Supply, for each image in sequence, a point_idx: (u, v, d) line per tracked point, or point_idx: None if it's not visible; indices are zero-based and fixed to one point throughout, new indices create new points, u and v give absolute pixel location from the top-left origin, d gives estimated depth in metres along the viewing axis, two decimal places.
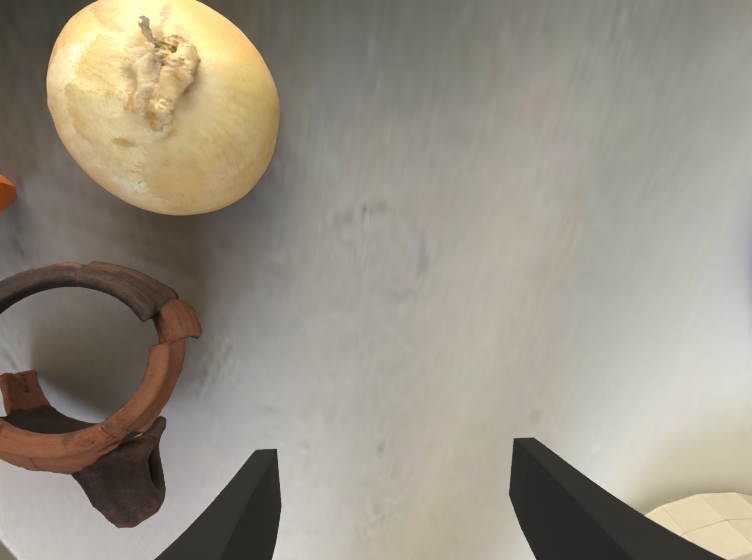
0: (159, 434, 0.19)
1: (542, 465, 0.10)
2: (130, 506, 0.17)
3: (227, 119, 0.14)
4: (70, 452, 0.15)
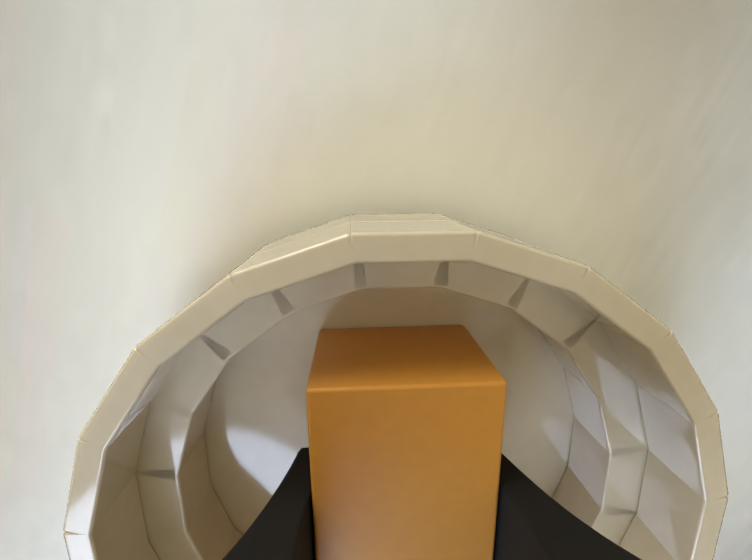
0: None
1: None
2: None
3: None
4: None
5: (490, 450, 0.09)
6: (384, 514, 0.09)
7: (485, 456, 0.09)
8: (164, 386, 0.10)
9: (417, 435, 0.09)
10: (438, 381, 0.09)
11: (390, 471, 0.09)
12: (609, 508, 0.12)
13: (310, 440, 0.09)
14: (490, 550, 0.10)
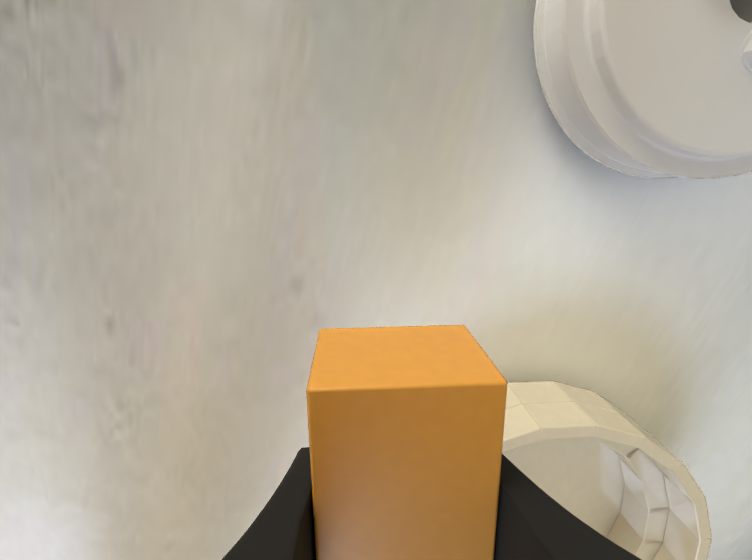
0: None
1: None
2: None
3: None
4: None
5: (491, 449, 0.09)
6: (385, 513, 0.09)
7: (486, 455, 0.09)
8: None
9: (417, 434, 0.09)
10: (439, 380, 0.09)
11: (390, 470, 0.09)
12: (647, 540, 0.21)
13: (311, 439, 0.09)
14: (490, 549, 0.10)
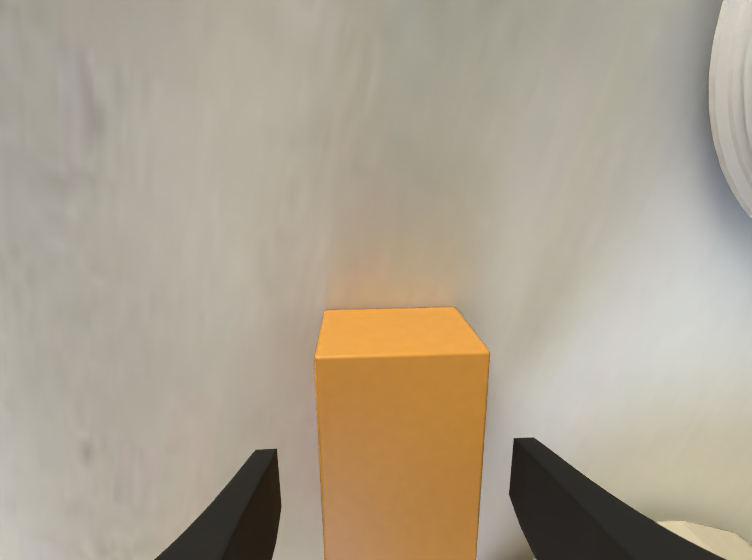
0: None
1: (542, 465, 0.10)
2: None
3: None
4: None
5: (475, 412, 0.10)
6: (382, 469, 0.11)
7: (471, 417, 0.10)
8: None
9: (411, 398, 0.10)
10: (430, 350, 0.10)
11: (387, 430, 0.10)
12: None
13: (318, 402, 0.10)
14: (476, 503, 0.11)
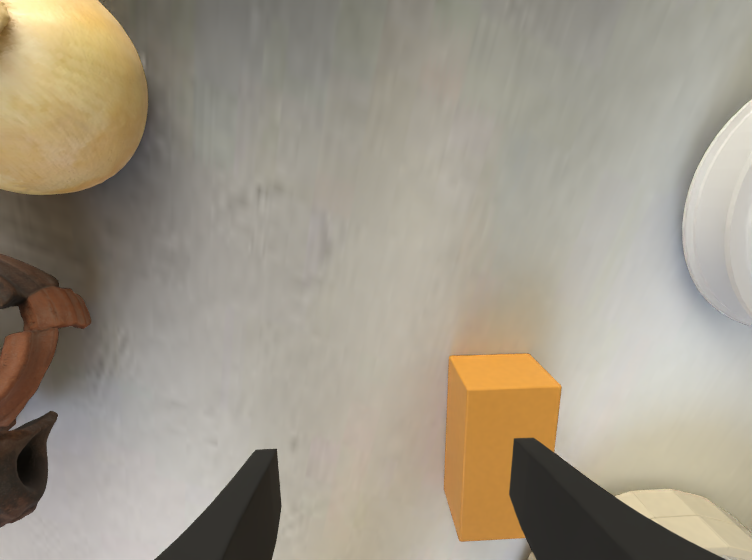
0: (36, 429, 0.18)
1: (542, 465, 0.10)
2: None
3: (56, 85, 0.13)
4: None
5: (552, 419, 0.19)
6: (498, 451, 0.19)
7: (549, 422, 0.19)
8: None
9: (517, 411, 0.19)
10: (528, 385, 0.18)
11: (503, 429, 0.19)
12: None
13: (466, 414, 0.18)
14: None
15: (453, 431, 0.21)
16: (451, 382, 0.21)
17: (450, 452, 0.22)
